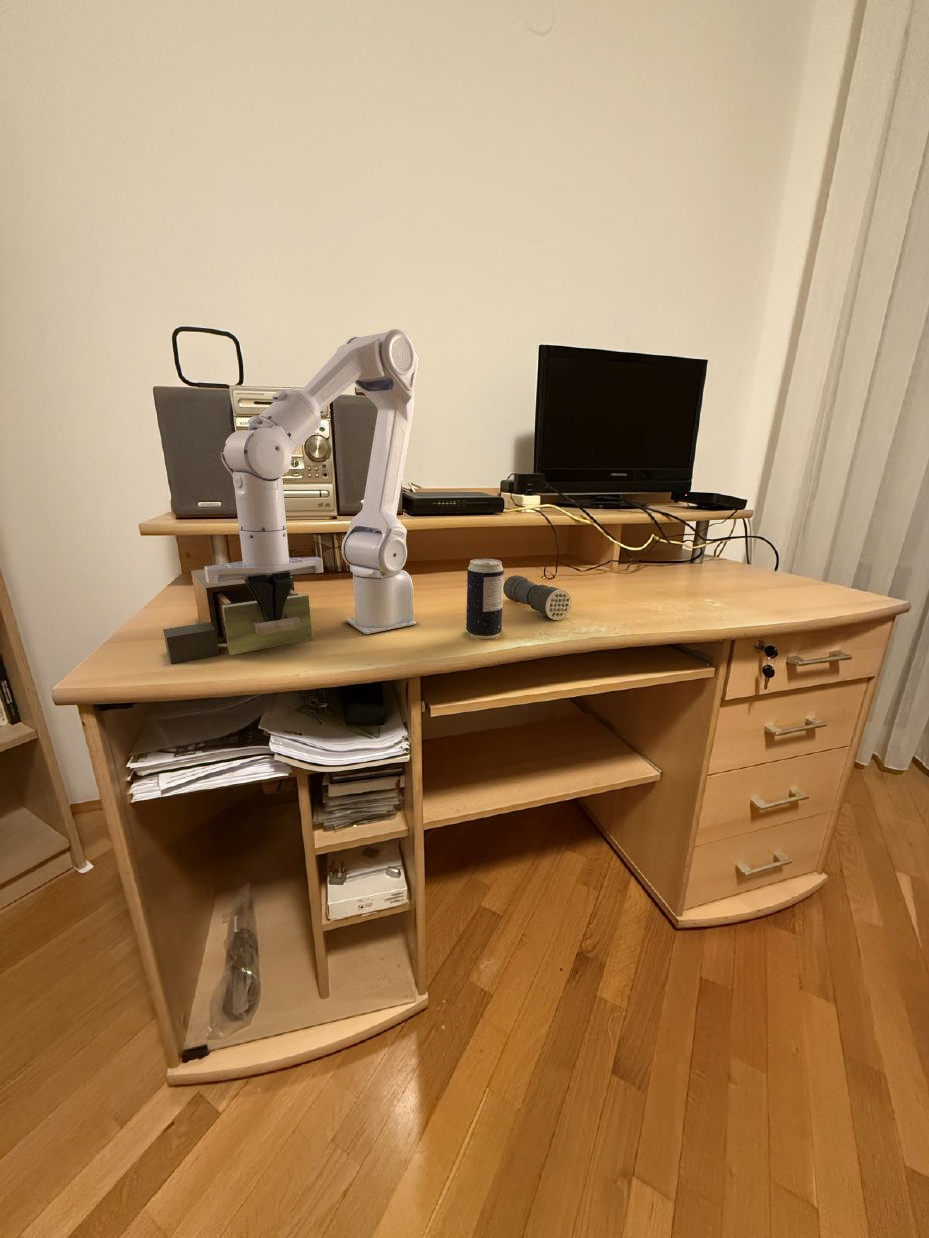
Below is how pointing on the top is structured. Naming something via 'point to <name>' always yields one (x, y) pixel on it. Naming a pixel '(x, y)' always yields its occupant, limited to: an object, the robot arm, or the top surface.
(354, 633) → the top surface
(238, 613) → the drawer
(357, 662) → the top surface
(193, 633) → the charcoal rectangular block
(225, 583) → the cabinet
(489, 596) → the beverage can
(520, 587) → the flashlight
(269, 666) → the top surface
